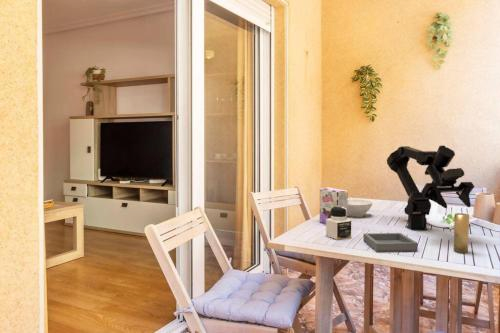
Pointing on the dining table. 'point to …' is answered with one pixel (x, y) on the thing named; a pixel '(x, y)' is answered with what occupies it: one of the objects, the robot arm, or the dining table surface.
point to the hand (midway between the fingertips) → (458, 207)
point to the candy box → (331, 201)
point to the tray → (390, 242)
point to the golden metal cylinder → (461, 233)
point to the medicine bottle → (338, 224)
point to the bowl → (357, 207)
